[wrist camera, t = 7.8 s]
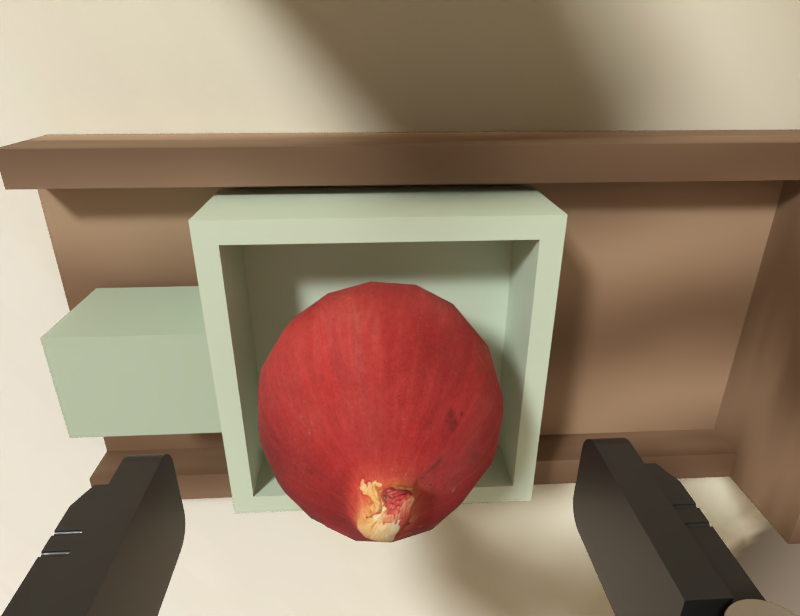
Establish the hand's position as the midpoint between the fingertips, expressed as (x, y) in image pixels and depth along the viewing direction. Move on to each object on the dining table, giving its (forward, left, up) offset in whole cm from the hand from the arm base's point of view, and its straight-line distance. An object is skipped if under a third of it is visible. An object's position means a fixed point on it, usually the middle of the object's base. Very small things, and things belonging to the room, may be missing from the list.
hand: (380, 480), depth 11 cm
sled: (0, -2, -7) cm, 8 cm away
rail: (0, +2, -9) cm, 9 cm away
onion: (0, 0, -7) cm, 7 cm away
